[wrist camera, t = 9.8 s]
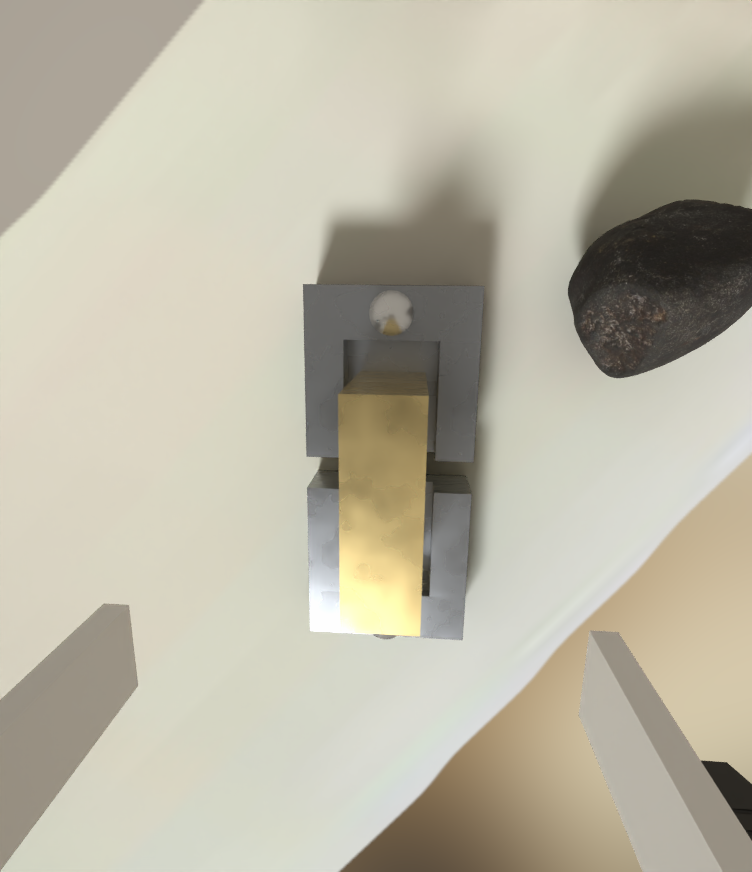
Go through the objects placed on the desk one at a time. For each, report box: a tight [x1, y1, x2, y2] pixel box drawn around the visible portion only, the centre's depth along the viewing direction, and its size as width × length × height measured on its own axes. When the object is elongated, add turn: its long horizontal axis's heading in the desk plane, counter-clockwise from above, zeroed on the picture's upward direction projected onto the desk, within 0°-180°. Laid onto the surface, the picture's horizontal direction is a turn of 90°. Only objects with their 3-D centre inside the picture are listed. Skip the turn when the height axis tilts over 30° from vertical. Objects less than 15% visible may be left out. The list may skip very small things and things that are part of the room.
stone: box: [568, 200, 752, 378], centre depth 26 cm, size 8×7×10 cm
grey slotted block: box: [303, 284, 484, 640], centre depth 32 cm, size 10×22×4 cm, turn 179°
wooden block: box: [338, 371, 429, 637], centre depth 28 cm, size 4×12×9 cm, turn 0°
